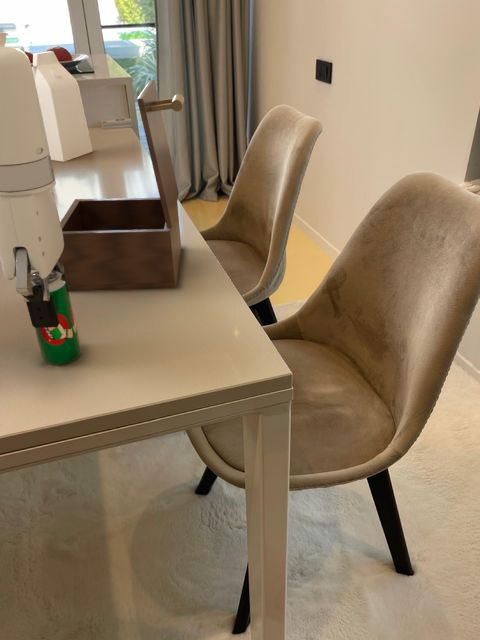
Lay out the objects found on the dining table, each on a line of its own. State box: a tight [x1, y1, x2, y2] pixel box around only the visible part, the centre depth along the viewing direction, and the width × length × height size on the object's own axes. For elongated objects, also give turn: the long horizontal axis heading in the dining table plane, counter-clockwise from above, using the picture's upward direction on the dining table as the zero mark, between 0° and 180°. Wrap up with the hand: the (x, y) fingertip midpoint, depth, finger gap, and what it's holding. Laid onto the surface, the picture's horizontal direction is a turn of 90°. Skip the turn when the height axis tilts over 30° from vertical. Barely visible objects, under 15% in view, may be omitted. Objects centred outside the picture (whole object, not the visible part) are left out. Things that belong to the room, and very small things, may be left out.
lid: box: [136, 79, 185, 229], centre depth 88 cm, size 19×16×5 cm
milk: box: [32, 50, 93, 163], centre depth 154 cm, size 12×12×26 cm
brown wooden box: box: [60, 197, 182, 292], centre depth 96 cm, size 18×16×10 cm
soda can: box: [31, 270, 82, 366], centre depth 73 cm, size 5×5×12 cm
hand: (52, 313), depth 72 cm, fingers closed on soda can, 5 cm apart
